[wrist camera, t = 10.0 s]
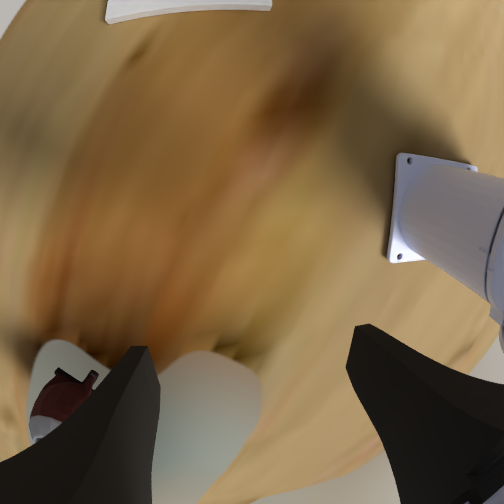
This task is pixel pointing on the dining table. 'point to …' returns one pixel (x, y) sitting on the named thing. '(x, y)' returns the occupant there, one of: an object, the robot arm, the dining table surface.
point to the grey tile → (175, 7)
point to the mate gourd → (58, 402)
